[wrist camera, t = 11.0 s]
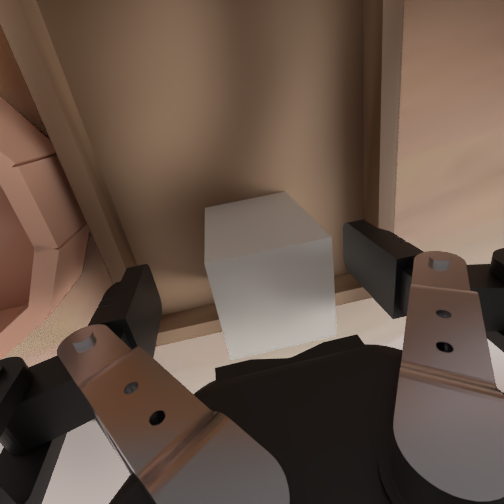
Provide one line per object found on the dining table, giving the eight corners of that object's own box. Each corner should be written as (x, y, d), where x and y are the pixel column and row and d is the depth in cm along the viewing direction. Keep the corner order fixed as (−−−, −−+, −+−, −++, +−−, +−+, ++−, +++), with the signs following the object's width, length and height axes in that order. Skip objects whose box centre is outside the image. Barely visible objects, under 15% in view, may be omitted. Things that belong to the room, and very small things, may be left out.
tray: (378, -78, 11) (409, -112, 10) (373, 276, 18) (391, 293, 16) (7, -21, 11) (-31, -47, 9) (148, 326, 17) (142, 349, 16)
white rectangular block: (285, 191, 15) (331, 236, 9) (294, 262, 16) (337, 335, 11) (204, 208, 14) (204, 264, 9) (222, 278, 16) (230, 360, 11)
